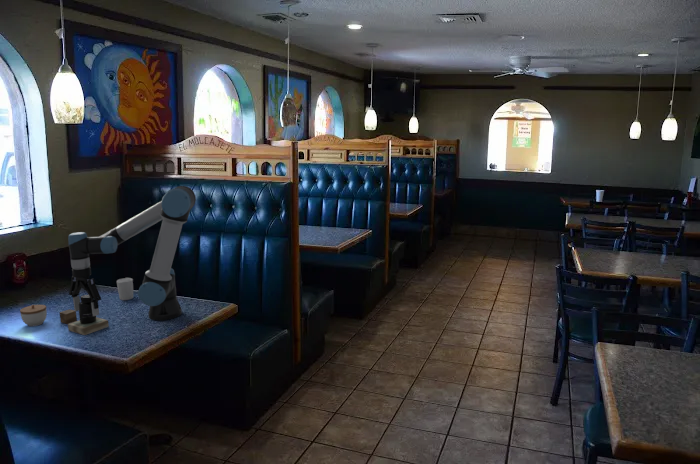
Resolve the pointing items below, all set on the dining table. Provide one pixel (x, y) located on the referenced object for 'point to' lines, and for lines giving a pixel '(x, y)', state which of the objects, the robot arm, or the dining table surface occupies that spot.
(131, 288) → the white cup
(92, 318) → the supplement bottle
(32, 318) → the lidded jar
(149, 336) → the dining table surface
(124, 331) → the dining table surface
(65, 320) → the walnut cube
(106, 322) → the plinth
